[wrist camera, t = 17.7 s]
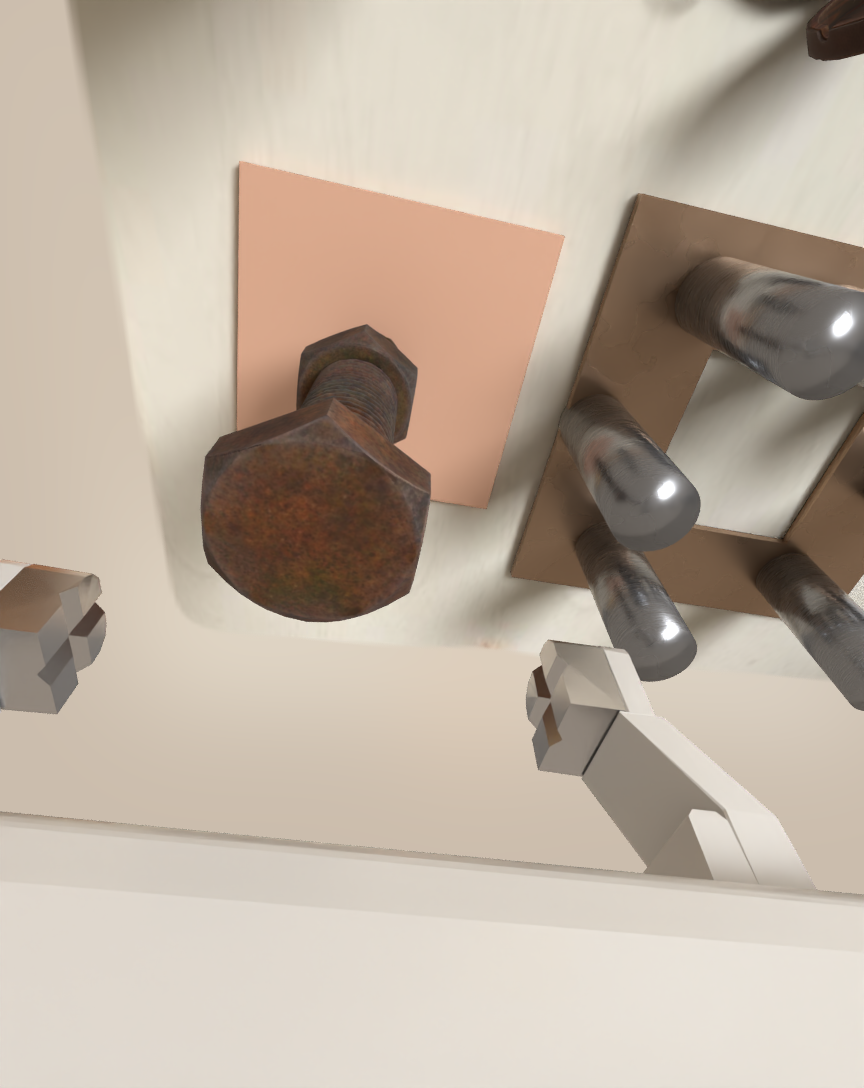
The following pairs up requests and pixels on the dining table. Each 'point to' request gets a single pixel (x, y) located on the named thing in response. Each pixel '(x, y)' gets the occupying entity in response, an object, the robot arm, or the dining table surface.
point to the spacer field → (654, 414)
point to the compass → (837, 30)
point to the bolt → (323, 488)
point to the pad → (392, 310)
